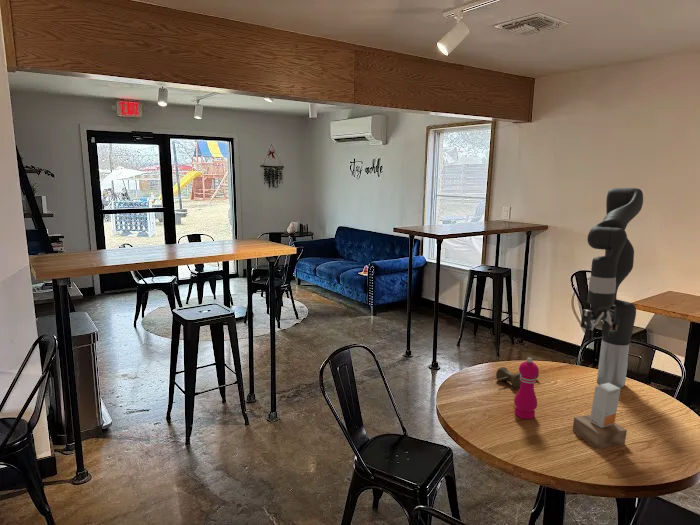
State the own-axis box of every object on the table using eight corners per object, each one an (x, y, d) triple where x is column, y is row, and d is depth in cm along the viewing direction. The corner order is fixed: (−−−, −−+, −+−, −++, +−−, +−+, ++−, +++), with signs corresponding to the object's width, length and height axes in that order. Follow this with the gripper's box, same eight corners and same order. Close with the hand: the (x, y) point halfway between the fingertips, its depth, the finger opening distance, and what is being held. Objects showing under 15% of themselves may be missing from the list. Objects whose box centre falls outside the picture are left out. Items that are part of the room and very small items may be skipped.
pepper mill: (509, 414, 155) (514, 357, 151) (518, 407, 160) (523, 352, 156) (530, 422, 150) (536, 363, 146) (539, 414, 155) (545, 357, 151)
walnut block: (598, 428, 148) (600, 413, 147) (624, 445, 138) (626, 430, 138) (572, 431, 145) (574, 417, 145) (596, 449, 136) (598, 434, 135)
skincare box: (602, 429, 138) (608, 391, 135) (589, 421, 142) (594, 385, 139) (615, 424, 141) (621, 388, 138) (602, 417, 144) (607, 381, 142)
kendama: (543, 383, 181) (507, 392, 171) (523, 375, 189) (487, 383, 179) (545, 368, 180) (508, 376, 170) (525, 361, 188) (489, 368, 178)
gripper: (604, 284, 154) (600, 330, 158) (576, 289, 148) (572, 338, 151) (627, 289, 148) (621, 337, 151) (598, 295, 141) (593, 345, 145)
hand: (596, 337), depth 151 cm, fingers open, 8 cm apart
